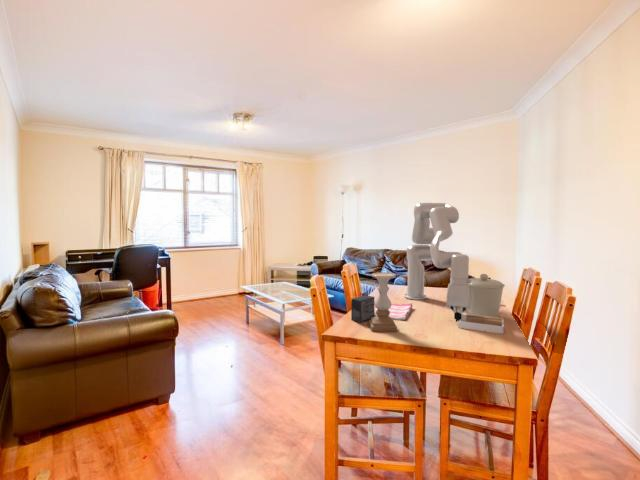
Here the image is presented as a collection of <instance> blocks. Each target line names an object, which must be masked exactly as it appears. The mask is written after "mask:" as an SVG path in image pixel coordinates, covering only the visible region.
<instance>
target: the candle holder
mask: <svg viewBox="0 0 640 480" xmlns="http://www.w3.org/2000/svg"><path fill="white" fill-rule="evenodd" d="M371 277H372V278H376V280H377V281H378V287H377V290H378V296H377V298H375V300H374V308H375V309H376V308H377V310H376V314H377V316H375V317H371V319H370V320H368V326H369V328H370V331H371V332H373V333H374V332H375V333H376V332H377V333H378V332H379V333H382V332H383V333H397V332H398V326H397V324H396V323H395V319H392V318H391V317H389V316H388V315H389V314H390V311H389V310H388V309H389V308H390V307H391V303H392V302H391V300H390V298H389V296H388V293H389V290H390V287H389V286H388V284H389V283H388V282H389V281H390V279H394V278H396V273H393V272H383V271H382V272H381V271H380V272H372V274H371Z"/></svg>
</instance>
